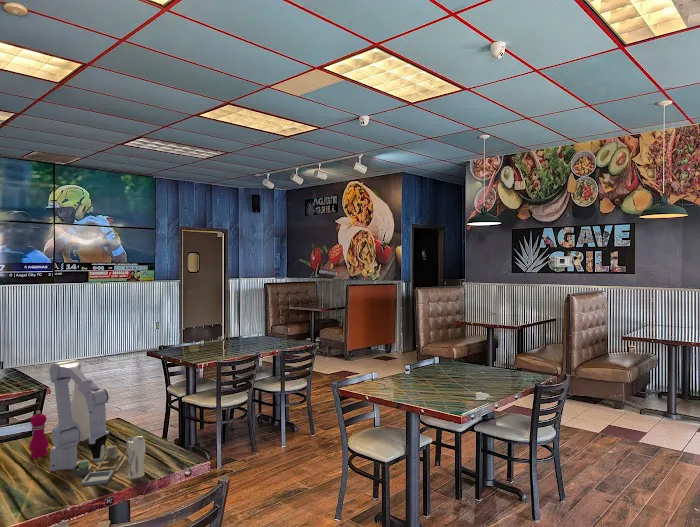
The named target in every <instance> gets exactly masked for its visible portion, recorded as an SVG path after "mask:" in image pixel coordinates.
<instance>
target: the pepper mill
mask: <svg viewBox="0 0 700 527" xmlns="http://www.w3.org/2000/svg"><path fill="white" fill-rule="evenodd" d="M46 422H47V416H46V415H45V414H43V413H42V412H41V410H37V411H35V414H34V415H32V416H31V417H30V424H31V425H32V426H31V430H32V431H33V434H32V438H31V441H30V443H29V446H28V447H29V451H31V453H30V458H31V457H32V459H39V458H38V457H41V458H43V457H42V456H44V457H46V456H47V455H48V454H49V453H48V448H49V445H50V444H49V440H48V438H47V437H46V434H45V429H46ZM45 455H46V456H45Z"/></svg>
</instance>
